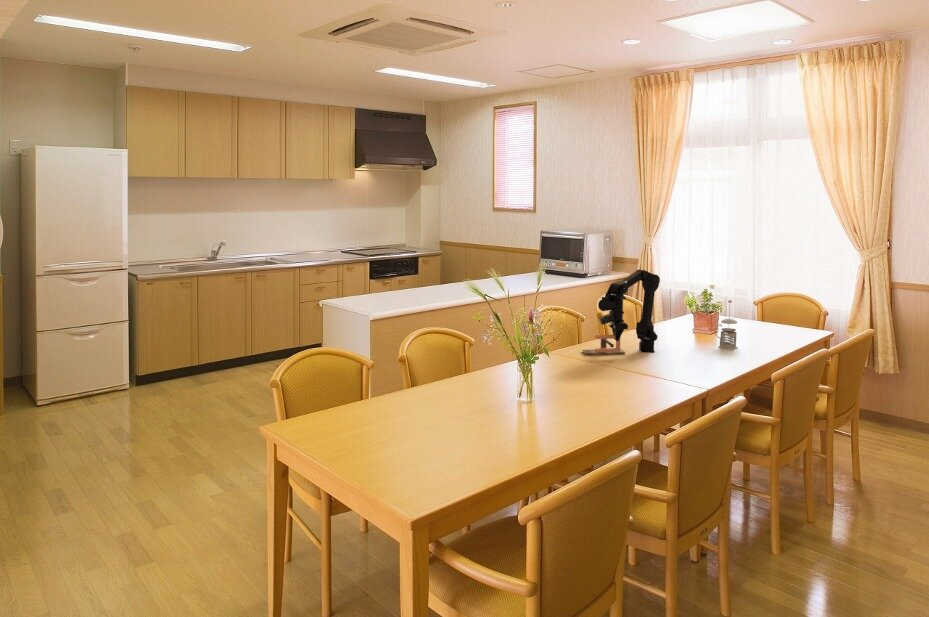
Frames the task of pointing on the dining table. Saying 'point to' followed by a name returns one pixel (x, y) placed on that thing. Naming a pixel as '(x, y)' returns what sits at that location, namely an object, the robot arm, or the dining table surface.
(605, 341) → the stand
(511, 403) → the dining table surface
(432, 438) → the dining table surface
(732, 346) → the french press
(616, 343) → the c link
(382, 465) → the dining table surface
